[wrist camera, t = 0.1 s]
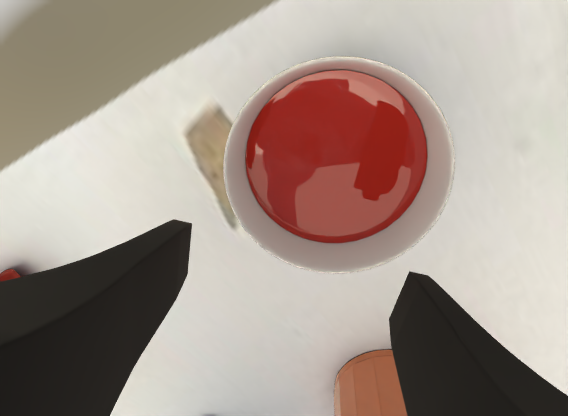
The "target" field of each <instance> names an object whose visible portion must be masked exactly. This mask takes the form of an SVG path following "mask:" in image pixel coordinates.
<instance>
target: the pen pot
mask: <svg viewBox="0 0 568 416" xmlns="http://www.w3.org/2000/svg"><path fill="white" fill-rule="evenodd" d="M334 414H335V416H407V412H406V408H405V404H404V399H403V395H402V391H401V387H400V382H399V378H398V374H397V370H396V365H395V361H394V356H393V352H392V350H377V351H372V352H368V353H365V354H362V355H360V356H357V357H355V358H354V359H352V360H350V361H349V362H348V363H346V364H345V365H344V366H343V367H342V369H341V370H340V371H339V373H338V375H337V377H336V380H335V389H334Z"/></svg>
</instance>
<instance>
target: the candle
mask: <svg viewBox="0 0 568 416" xmlns="http://www.w3.org/2000/svg"><path fill="white" fill-rule="evenodd" d="M454 169H455V155H454V146H453V141H452V137H451V133H450V130H449V127H448V124H447V122H446V120H445V118H444V116H443V114H442V112H441V110H440V109H439V107H438V105H437V104H436V102H435V101H434V100H433V99H432V97H431V96H430V95H429V94H428V93H427V92H426V91H425V90H424V89H423V88H422V87H421V86H420V85H419V84H418V83H417V82H416V81H414V80H413V79H412V78H410V77H409V76H407V75H406V74H404V73H403V72H401V71H399V70H397V69H395V68H393V67H391V66H389V65H386V64H383V63H381V62H378V61H374V60H370V59H366V58H360V57H351V56H334V57H324V58H318V59H314V60H310V61H306V62H303V63H300V64H298V65H295V66H293V67H291V68H288V69H286V70H284V71H283V72H281V73H279V74H277V75H276V76H274V77H273V78H271V79H270V80H269V81H267V82H266V83H265V84H264V85H262V86H261V87H260V88H259V89H258V90H257V91H256V92H255V93H254V94H253V95H252V96H251V97H250V98H249V100H248V101H247V102H246V103H245V105H244V106H243V108H242V109H241V111H240V112H239V114H238V116H237V117H236V119H235V121H234V123H233V126H232V128H231V130H230V133H229V136H228V139H227V143H226V148H225V153H224V167H223V170H224V182H225V188H226V192H227V196H228V199H229V202H230V205H231V207H232V210H233V212H234V214H235V216H236V217H237V219H238V221H239V222H240V224H241V225H242V227H243V228H244V230H245V231H246V232H247V233H248V235H249V236H250V237H251V238H252V239H253V240H254V241H255V242H256V243H257V244H258V245H259V246H261V247H262V248H263V249H264V250H266V251H267V252H268V253H270V254H271V255H273V256H274V257H276V258H278V259H280V260H282V261H284V262H286V263H288V264H290V265H293V266H295V267H298V268H302V269H305V270H309V271H314V272H321V273H352V272H358V271H363V270H367V269H371V268H374V267H377V266H380V265H382V264H385V263H387V262H389V261H391V260H393V259H395V258H397V257H399V256H400V255H402V254H403V253H405V252H406V251H408V250H409V249H411V248H412V247H413V246H414V245H416V244H417V243H418V242H419V241H420V240H421V239H422V238H423V237H424V236H425V235H426V234H427V233H428V232H429V230H430V229H431V228H432V227H433V225H434V224H435V223H436V221H437V220H438V218H439V216H440V215H441V213H442V211H443V209H444V207H445V205H446V202H447V200H448V197H449V195H450V191H451V188H452V183H453V178H454Z"/></svg>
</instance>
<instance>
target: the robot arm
mask: <svg viewBox="0 0 568 416" xmlns="http://www.w3.org/2000/svg"><path fill="white" fill-rule="evenodd" d="M191 228H192V223H187V222H183V221H178V220H171V221H169V222H167V223H164V224H162V225H160V226H158V227H156V228H154V229H152V230H150V231H148V232H146V233H144V234H142V235H140V236H137V237H135V238H133V239H131V240H129V241H127V242H125V243H122V244H120V245H117V246H115V247H113V248H110V249H108V250H105V251H103V252H101V253H98V254H96V255H93V256H90V257H88V258H85V259H82V260H79V261H76V262H73V263H70V264H67V265H64V266H61V267H57V268H54V269H50V270H46V271H42V272H38V273H34V274H30V275H26V276H22V277H19V278H14V279H10V280H5V281H0V416H110V414H111V412H112V410H113V408H114V406H115V404H116V402H117V400H118V398H119V396H120V394H121V392H122V390H123V388H124V386H125V384H126V382H127V380H128V378H129V376H130V374H131V372H132V370H133V368H134V366H135V364H136V363H137V361H138V359H139V358H140V356H141V354H142V353H143V351H144V350H145V348H146V346H147V345H148V343H149V342H150V340H151V338H152V337H153V335H154V334H155V332H156V331H157V329H158V327H159V326H160V324H161V323H162V321H163V320H164V318H165V316H166V315H167V313H168V312H169V310H170V308H171V307H172V305H173V304H174V302H175V300H176V298H177V296H178V294H179V292H180V290H181V288H182V285H183V283H184V281H185V279H186V276H187V274H188V263H189V251H190V240H191ZM389 324H390V337H391V346H392V352H393V356H394V361H395V365H396V370H397V374H398V378H399V382H400V387H401V391H402V395H403V399H404V404H405V408H406V412H407V416H568V396H567V395H566V394H564V393H563V392H561V391H560V390H558V389H557V388H556V387H554V386H553V385H551V384H550V383H549V382H547V381H546V380H545V379H543V378H542V377H541V376H539V375H538V374H537V373H536V372H534V371H533V370H532V369H530V368H529V367H528V366H527V365H525V364H524V363H523V362H522V361H520V360H519V359H518V358H516V357H515V356H514V355H513V354H512V353H510V352H509V351H508V350H507V349H506V348H505V347H503V346H502V345H501V344H500V343H499V342H498V341H497V340H496V339H494V338H493V337H492V336H491V335H490V334H489V333H488V332H487V331H486V330H485V329H483V328H482V327H481V326H480V325H479V324H478V323H477V322H476V321H475V320H474V319H473V318H472V317H471V316H470V315H469V314H468V313H467V312H466V311H465V310H464V309H463V308H462V307H461V306H460V305H459V304H458V303H457V302H456V301H455V300H454V299H453V298H452V297H451V296H450V295H448V294H447V293H446V292H445V291H444V290H443V289H442V288H441V287H440V286H439V285H438V284H437V283H436V282H435V281H434V280H433V279H432V278H430V277H429V276H428V275H423V274H418V273H414V272H409V274H408V276H407V278H406V281H405V283H404V285H403V288H402V290H401V292H400V295H399V297H398V299H397V302H396V304H395V307H394V309H393V311H392V314H391V316H390V318H389Z"/></svg>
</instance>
